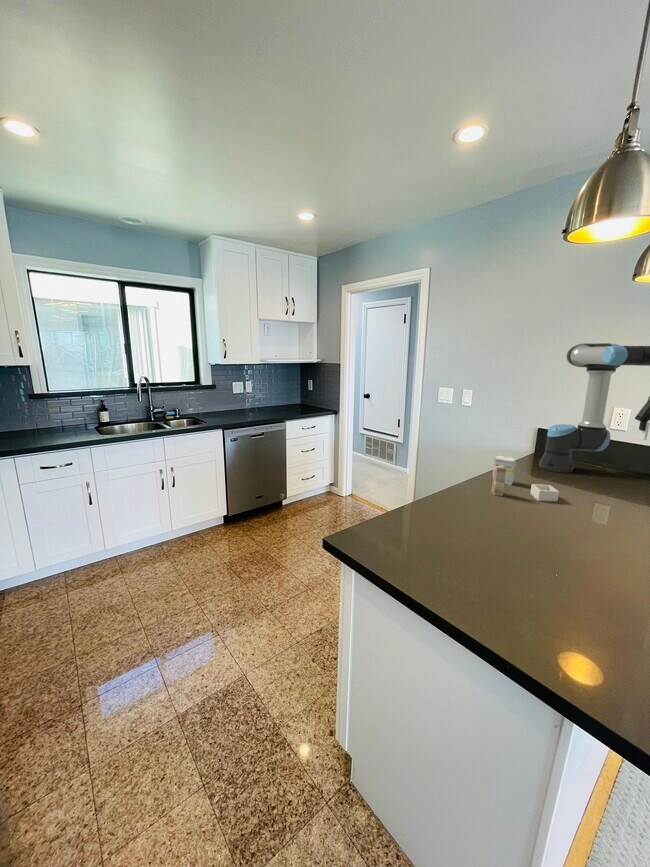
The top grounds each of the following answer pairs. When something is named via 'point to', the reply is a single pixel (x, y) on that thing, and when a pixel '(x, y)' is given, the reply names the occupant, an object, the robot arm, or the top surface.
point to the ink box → (508, 464)
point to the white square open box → (544, 493)
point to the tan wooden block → (498, 480)
